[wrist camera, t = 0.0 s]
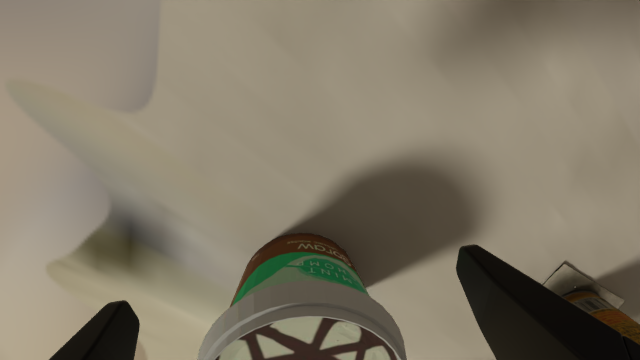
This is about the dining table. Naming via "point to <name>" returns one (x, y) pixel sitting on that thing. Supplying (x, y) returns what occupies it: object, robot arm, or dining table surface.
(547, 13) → the dining table surface
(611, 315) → the condiment
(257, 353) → the food container
